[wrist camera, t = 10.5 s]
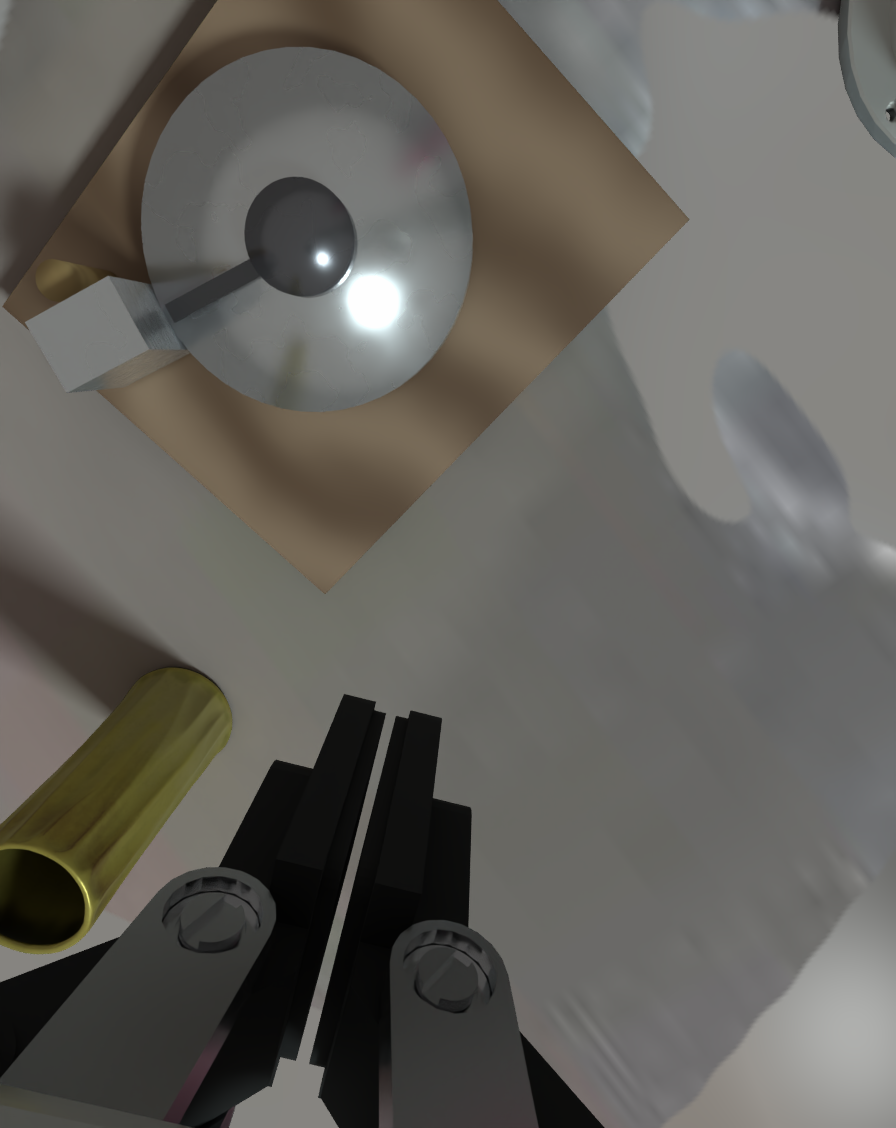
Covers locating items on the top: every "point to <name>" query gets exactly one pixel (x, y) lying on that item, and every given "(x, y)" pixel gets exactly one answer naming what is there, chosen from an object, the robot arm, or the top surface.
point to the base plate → (493, 299)
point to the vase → (105, 809)
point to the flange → (284, 241)
